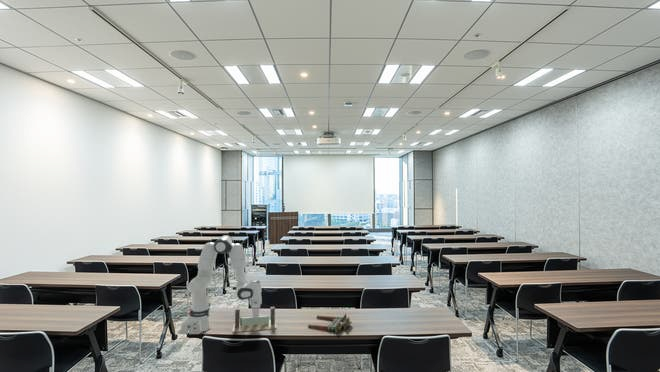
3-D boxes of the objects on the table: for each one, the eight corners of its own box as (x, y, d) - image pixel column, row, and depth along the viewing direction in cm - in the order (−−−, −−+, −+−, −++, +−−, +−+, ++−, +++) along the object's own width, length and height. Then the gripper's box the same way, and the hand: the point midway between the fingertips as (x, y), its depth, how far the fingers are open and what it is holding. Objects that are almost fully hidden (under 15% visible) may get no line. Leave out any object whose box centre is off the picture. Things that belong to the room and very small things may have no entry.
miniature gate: (318, 311, 254) (354, 313, 245) (319, 318, 254) (355, 321, 244) (305, 325, 229) (345, 328, 219) (306, 332, 229) (345, 336, 219)
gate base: (232, 332, 224) (232, 314, 224) (234, 324, 237) (234, 307, 237) (276, 328, 231) (276, 310, 231) (275, 320, 244) (275, 304, 244)
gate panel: (240, 326, 231) (240, 318, 231) (240, 325, 232) (240, 317, 233) (269, 323, 236) (269, 316, 236) (269, 322, 237) (269, 315, 237)
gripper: (251, 297, 246) (251, 315, 246) (251, 306, 227) (251, 326, 226) (259, 296, 248) (259, 314, 248) (260, 306, 228) (260, 325, 228)
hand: (255, 319), depth 237 cm, fingers closed
